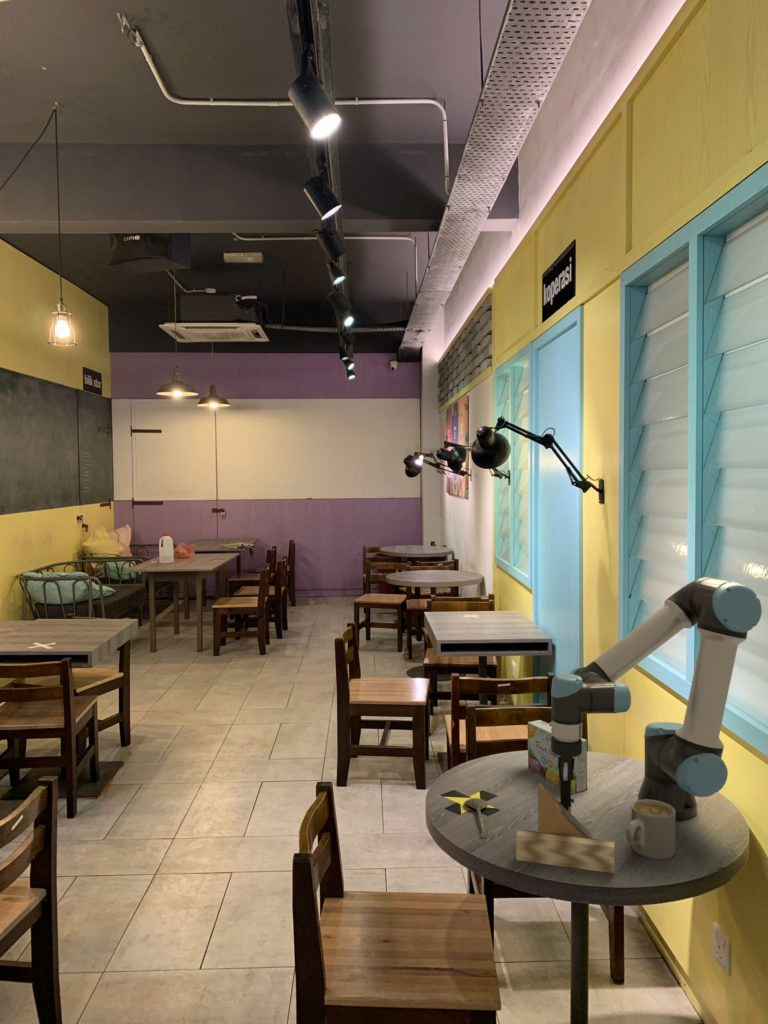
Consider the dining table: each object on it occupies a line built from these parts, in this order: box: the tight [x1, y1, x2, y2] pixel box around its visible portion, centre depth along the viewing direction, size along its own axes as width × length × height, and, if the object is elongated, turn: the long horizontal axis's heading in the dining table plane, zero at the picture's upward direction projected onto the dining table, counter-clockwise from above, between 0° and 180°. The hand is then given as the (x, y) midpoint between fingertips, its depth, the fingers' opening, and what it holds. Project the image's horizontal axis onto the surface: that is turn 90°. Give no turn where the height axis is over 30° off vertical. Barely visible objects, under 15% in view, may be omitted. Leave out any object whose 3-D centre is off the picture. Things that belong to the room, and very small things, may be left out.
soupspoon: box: [464, 797, 489, 839], centre depth 191 cm, size 22×3×7 cm
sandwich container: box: [537, 782, 598, 839], centre depth 174 cm, size 9×15×15 cm, turn 91°
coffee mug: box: [625, 799, 676, 860], centre depth 174 cm, size 13×10×10 cm
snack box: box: [527, 719, 588, 794], centre depth 217 cm, size 21×6×15 cm, turn 28°
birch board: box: [515, 828, 616, 874], centre depth 167 cm, size 22×3×6 cm, turn 74°
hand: (565, 829), depth 181 cm, fingers closed
